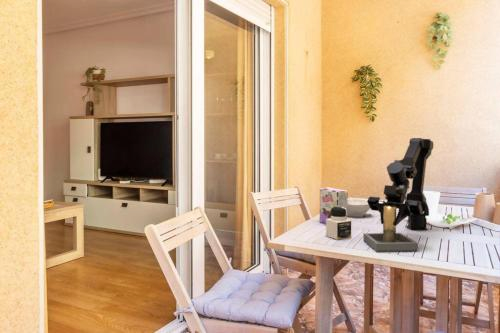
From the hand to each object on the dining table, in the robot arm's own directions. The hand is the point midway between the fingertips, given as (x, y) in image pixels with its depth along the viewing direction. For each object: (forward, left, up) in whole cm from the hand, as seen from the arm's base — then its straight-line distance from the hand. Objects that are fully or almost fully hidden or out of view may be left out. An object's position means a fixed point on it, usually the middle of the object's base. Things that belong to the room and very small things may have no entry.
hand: (388, 224), depth 140 cm
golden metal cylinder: (+1, +1, -7) cm, 7 cm away
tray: (+1, +1, -8) cm, 8 cm away
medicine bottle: (-14, +15, -8) cm, 22 cm away
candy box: (-11, +37, -9) cm, 40 cm away
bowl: (+5, +56, -9) cm, 57 cm away
